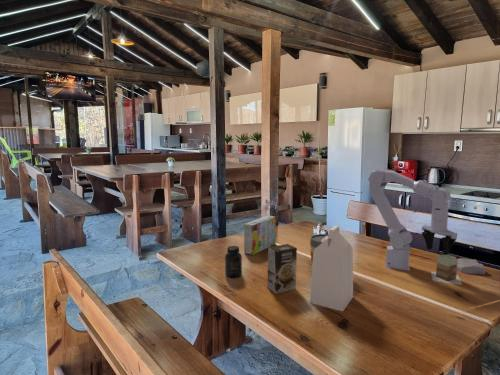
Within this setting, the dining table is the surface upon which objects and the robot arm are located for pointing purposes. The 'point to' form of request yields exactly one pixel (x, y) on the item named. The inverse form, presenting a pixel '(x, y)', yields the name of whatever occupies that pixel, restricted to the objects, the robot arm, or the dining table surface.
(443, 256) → the pale green cube
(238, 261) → the supplement bottle
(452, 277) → the tower base
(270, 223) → the snack box
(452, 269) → the tower top
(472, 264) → the stone block
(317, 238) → the reusable coffee cup
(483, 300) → the dining table surface
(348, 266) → the milk
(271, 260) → the coffee box
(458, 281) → the felt mat
